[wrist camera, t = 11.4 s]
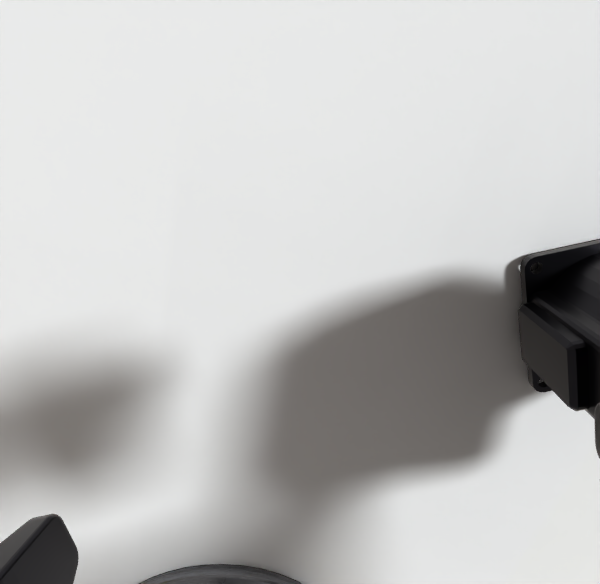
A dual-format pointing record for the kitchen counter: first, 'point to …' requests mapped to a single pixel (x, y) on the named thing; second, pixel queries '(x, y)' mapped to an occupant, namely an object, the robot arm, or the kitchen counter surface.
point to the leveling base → (220, 576)
